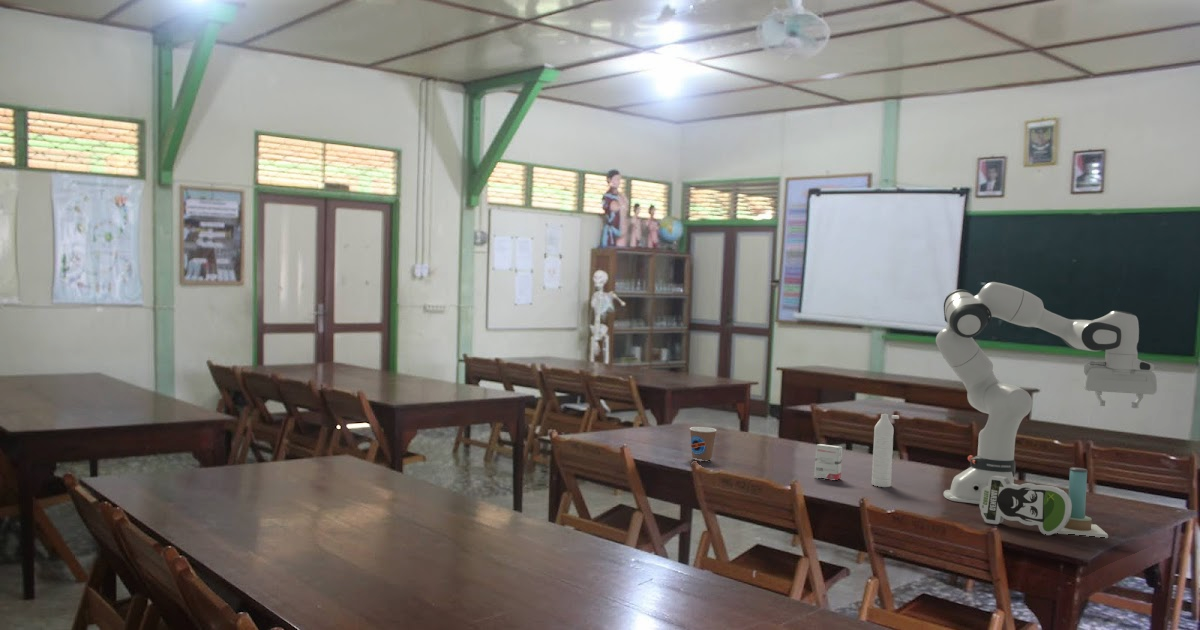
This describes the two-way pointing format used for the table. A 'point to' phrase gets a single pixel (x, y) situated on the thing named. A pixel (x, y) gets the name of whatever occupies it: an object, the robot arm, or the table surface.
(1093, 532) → the display stand
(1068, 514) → the cutout
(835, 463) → the ink box
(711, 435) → the coffee cup
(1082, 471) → the tube
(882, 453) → the water bottle
